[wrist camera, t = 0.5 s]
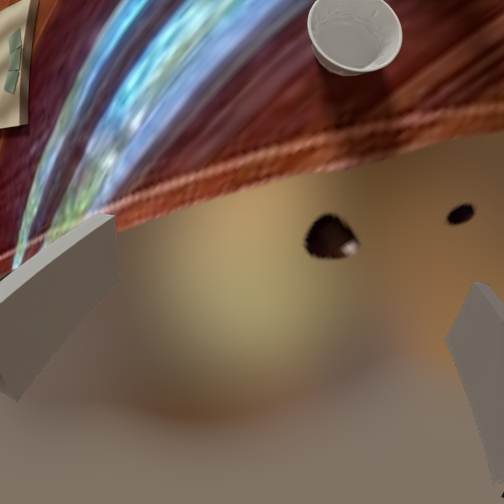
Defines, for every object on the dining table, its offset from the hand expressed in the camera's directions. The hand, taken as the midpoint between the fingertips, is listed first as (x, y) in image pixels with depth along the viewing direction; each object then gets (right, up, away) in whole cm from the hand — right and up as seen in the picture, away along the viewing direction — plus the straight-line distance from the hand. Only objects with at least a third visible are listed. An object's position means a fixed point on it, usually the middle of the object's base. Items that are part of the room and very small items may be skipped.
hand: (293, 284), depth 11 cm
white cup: (+9, +23, +18) cm, 31 cm away
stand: (-47, +33, +24) cm, 62 cm away
